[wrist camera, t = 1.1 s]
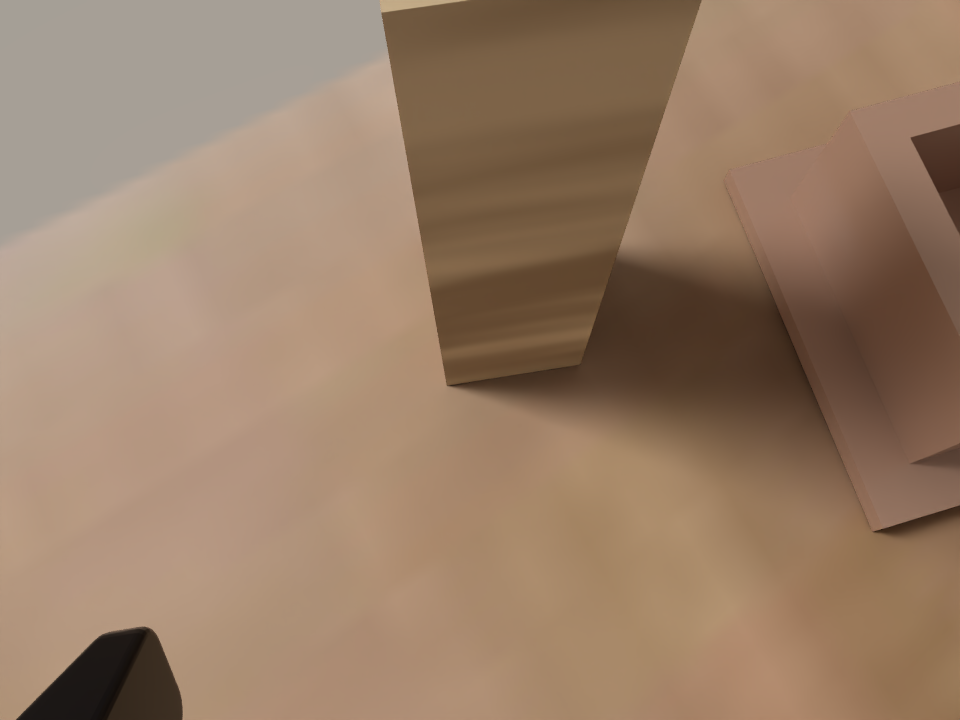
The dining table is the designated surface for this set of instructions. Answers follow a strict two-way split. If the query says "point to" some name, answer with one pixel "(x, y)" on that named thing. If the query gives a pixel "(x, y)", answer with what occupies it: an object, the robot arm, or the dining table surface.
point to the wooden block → (527, 161)
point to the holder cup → (873, 291)
